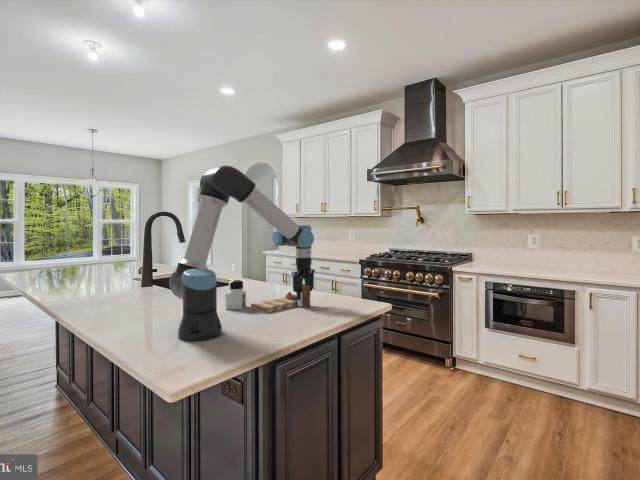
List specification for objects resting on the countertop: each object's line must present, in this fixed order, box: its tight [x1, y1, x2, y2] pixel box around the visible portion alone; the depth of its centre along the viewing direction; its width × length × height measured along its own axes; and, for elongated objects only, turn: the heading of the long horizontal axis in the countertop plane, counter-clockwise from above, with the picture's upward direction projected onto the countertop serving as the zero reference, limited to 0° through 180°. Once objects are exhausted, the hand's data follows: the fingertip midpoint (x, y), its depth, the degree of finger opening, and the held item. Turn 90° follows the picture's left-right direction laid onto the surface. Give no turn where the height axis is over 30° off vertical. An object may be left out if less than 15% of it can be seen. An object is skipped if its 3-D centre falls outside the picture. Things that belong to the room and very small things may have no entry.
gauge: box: [285, 283, 311, 309], centre depth 177 cm, size 4×14×11 cm, turn 49°
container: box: [225, 279, 247, 311], centre depth 171 cm, size 8×8×13 cm
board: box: [250, 296, 298, 314], centre depth 174 cm, size 26×11×2 cm, turn 137°
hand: (303, 305), depth 174 cm, fingers closed on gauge, 4 cm apart
